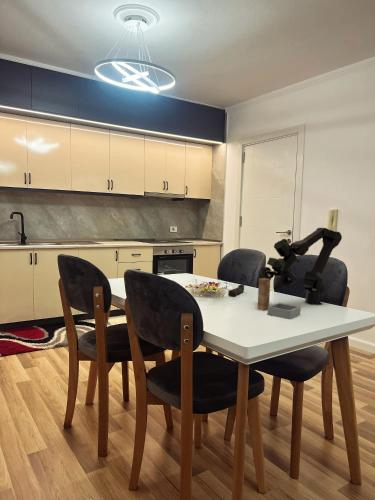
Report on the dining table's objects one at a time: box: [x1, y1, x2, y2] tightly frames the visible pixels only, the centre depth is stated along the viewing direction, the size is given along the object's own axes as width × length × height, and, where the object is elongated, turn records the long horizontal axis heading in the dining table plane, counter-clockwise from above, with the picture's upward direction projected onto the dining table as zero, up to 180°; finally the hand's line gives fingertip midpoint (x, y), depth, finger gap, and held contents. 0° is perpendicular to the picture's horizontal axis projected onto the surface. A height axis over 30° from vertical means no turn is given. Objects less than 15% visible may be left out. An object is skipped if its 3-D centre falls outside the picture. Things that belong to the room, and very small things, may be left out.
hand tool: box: [227, 283, 245, 298], centre depth 206 cm, size 19×4×5 cm, turn 149°
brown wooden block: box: [257, 277, 271, 311], centre depth 172 cm, size 4×4×14 cm
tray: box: [267, 302, 302, 320], centre depth 163 cm, size 10×10×4 cm
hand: (267, 288), depth 172 cm, fingers open, 9 cm apart
